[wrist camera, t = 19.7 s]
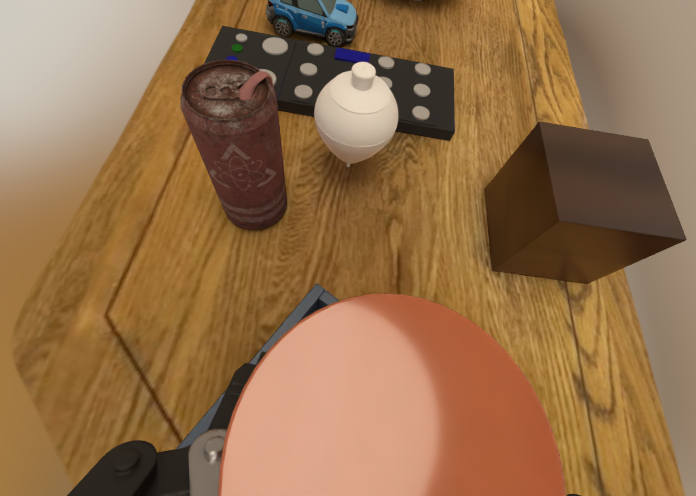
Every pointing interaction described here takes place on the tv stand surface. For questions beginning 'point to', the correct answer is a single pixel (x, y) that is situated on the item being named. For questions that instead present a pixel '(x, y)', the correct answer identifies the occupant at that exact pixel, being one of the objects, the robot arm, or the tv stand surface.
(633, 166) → the stand
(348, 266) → the tv stand surface
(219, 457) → the robot arm
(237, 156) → the can
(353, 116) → the spinning top
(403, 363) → the orange cylinder rod
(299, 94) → the remote control
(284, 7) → the toy car
